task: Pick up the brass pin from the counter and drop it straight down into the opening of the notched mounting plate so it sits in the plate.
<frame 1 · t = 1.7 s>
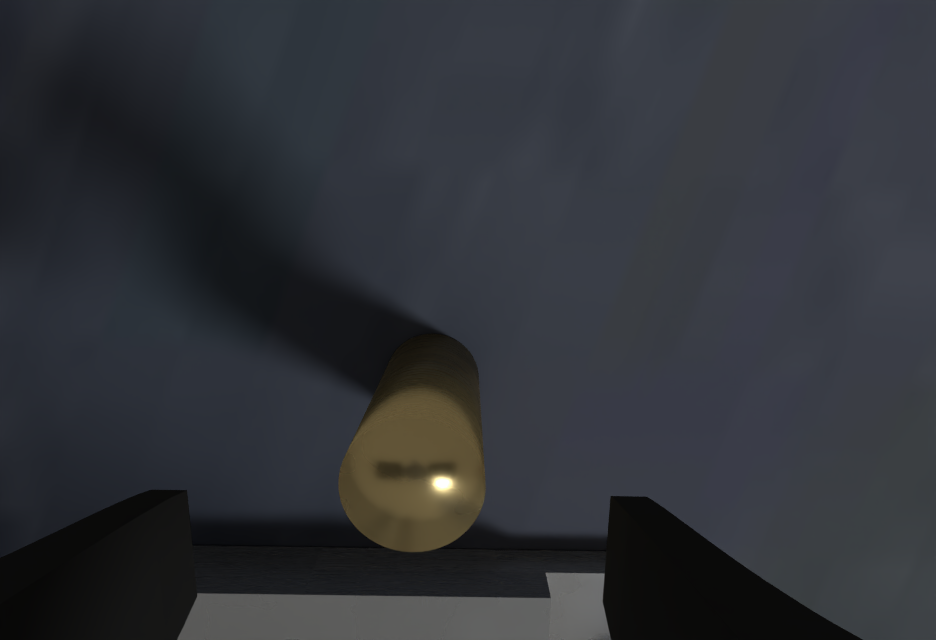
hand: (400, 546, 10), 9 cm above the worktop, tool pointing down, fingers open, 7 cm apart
brass pin: (432, 378, 18), on the worktop
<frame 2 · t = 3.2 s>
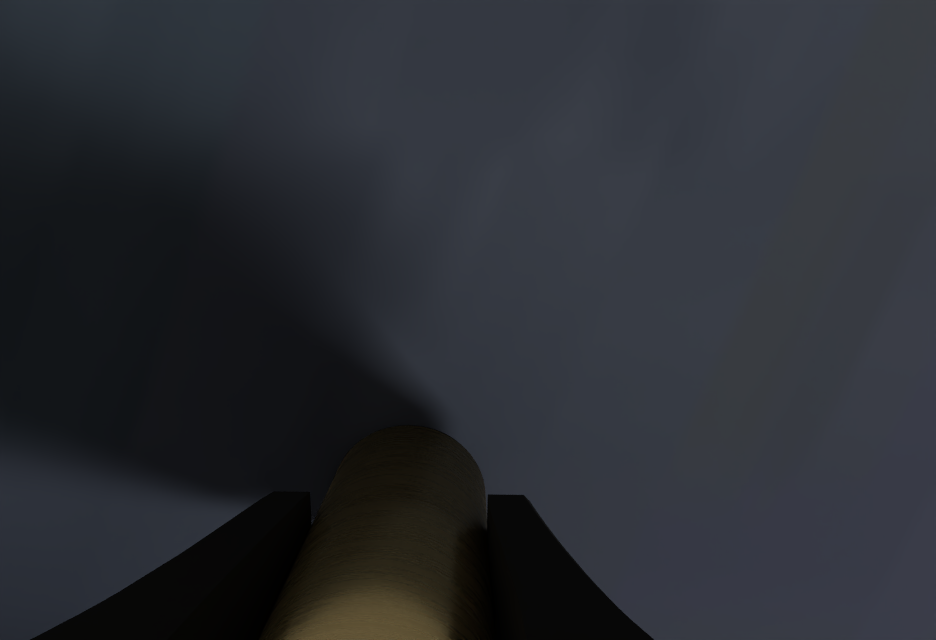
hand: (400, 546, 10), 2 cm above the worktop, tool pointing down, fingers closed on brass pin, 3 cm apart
brass pin: (409, 496, 11), on the worktop, touching gripper
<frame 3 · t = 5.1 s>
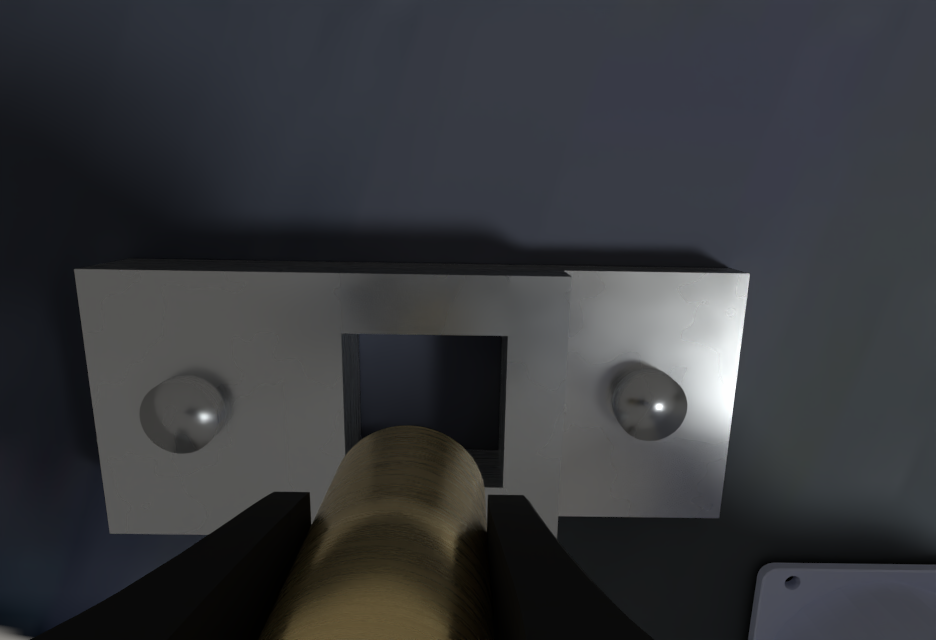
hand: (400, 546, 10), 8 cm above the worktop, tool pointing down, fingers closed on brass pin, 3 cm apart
brass pin: (409, 496, 11), point 7 cm above the worktop, touching gripper
notched mounting plate: (430, 384, 18), on the worktop
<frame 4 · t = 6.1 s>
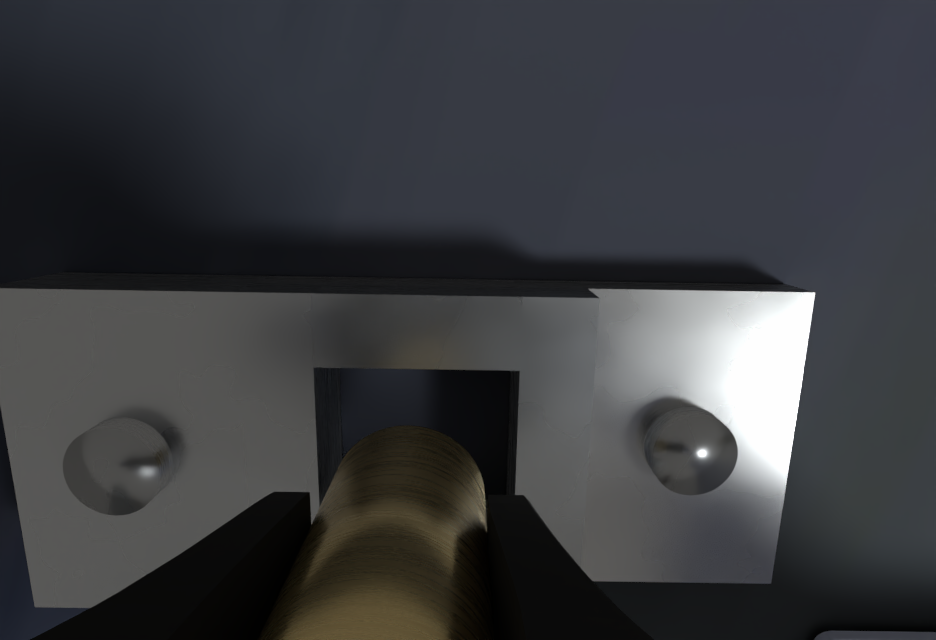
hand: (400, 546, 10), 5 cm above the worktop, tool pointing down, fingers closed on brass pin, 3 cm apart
brass pin: (408, 496, 11), point 4 cm above the worktop, touching gripper
notched mounting plate: (424, 421, 15), on the worktop
when the fingers open (3 cm above the worktop, at t = 7.0 s): brass pin drops 1 cm, resting in notched mounting plate.
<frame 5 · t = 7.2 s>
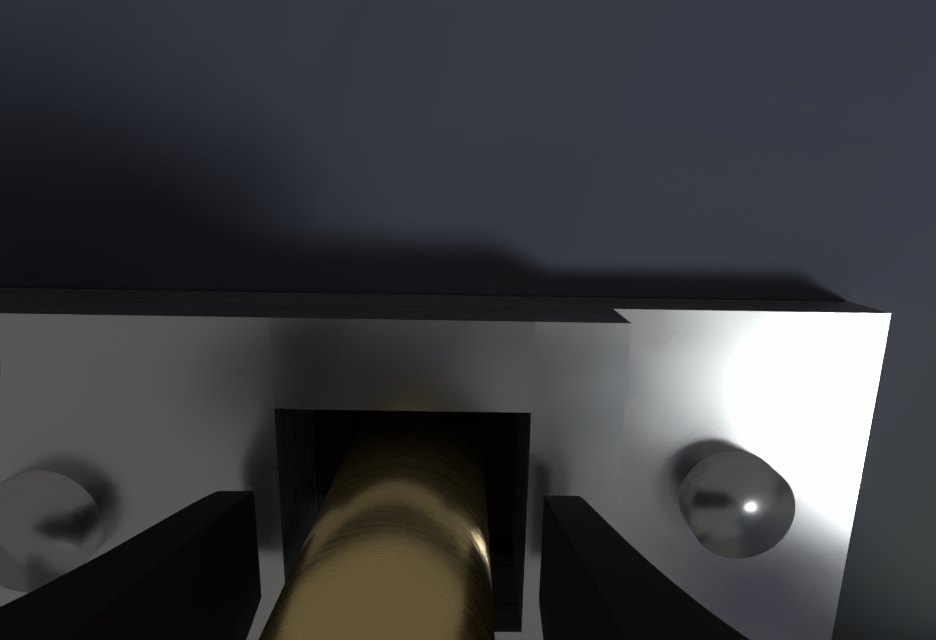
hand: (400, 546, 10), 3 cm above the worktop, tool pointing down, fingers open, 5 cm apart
brass pin: (416, 463, 13), resting in notched mounting plate
notched mounting plate: (415, 463, 13), on the worktop
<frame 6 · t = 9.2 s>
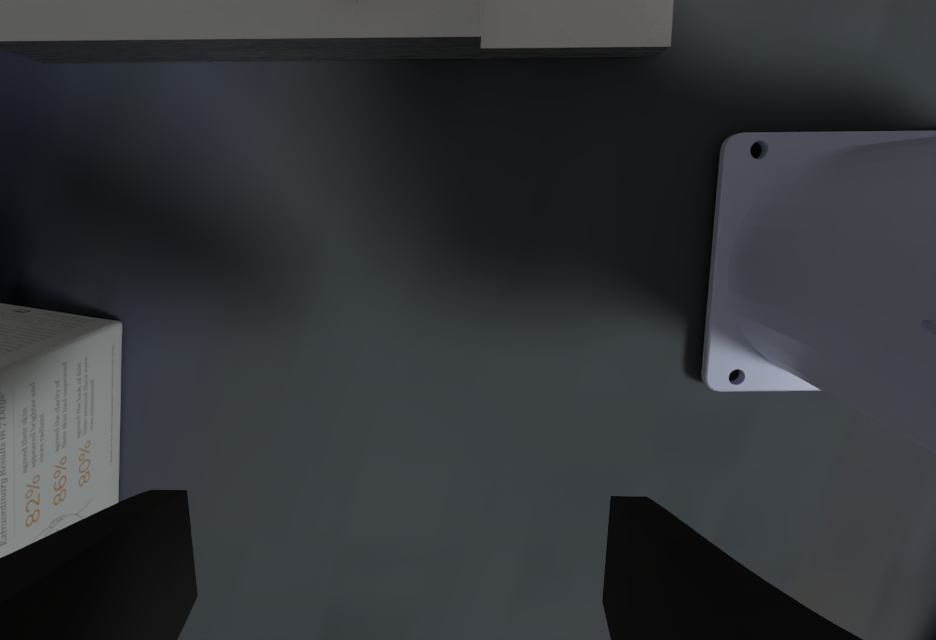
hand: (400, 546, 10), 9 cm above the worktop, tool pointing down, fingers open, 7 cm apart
small box: (47, 417, 19), on the worktop
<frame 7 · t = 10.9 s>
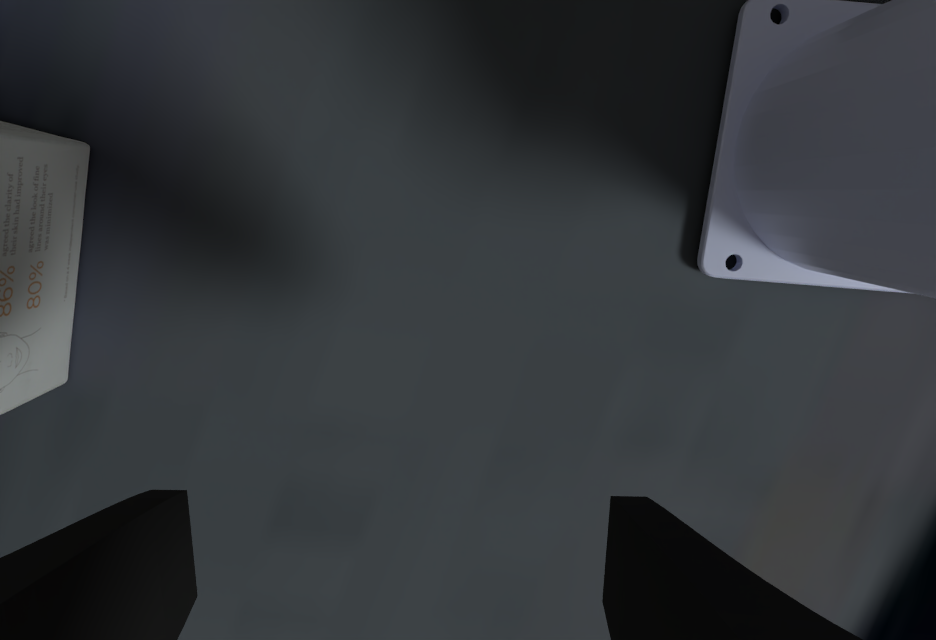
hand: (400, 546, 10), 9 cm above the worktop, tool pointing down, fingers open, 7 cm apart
small box: (1, 248, 18), on the worktop
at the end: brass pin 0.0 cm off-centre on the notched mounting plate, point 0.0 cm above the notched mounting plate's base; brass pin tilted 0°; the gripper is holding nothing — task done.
